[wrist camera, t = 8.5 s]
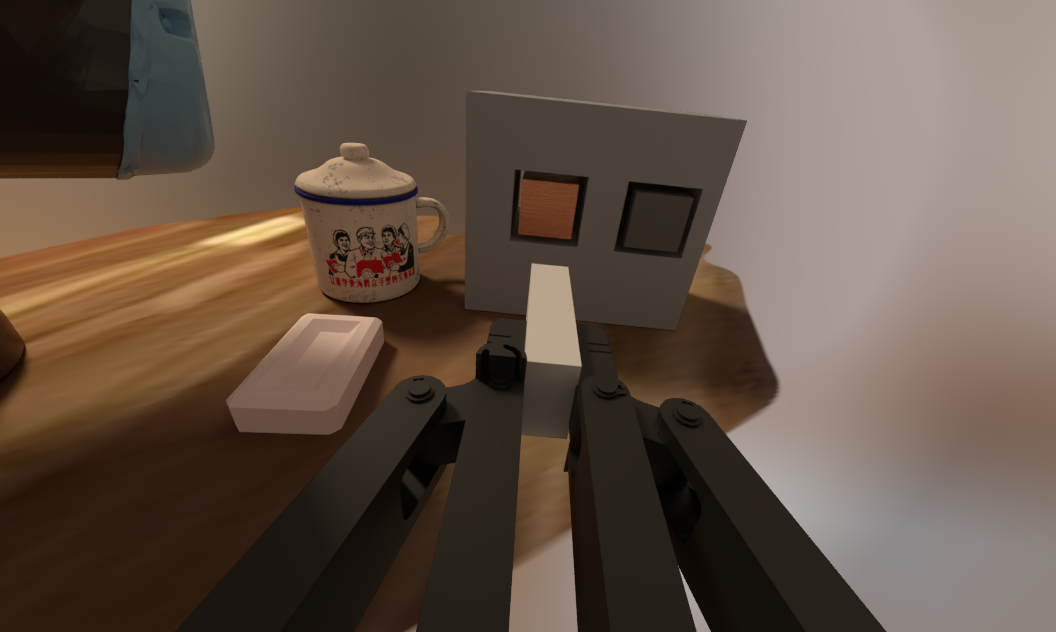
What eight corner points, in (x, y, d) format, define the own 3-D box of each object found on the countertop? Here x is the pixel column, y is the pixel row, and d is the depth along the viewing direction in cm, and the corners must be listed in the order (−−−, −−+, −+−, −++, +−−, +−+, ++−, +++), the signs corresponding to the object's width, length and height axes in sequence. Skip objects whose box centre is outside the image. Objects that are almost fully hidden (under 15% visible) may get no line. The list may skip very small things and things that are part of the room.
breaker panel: (463, 311, 32) (465, 90, 24) (482, 263, 41) (488, 90, 33) (676, 333, 32) (749, 121, 24) (648, 280, 41) (695, 112, 33)
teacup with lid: (322, 315, 30) (289, 154, 24) (310, 269, 36) (281, 134, 30) (466, 289, 36) (468, 155, 30) (433, 254, 42) (429, 138, 36)
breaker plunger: (518, 233, 29) (522, 179, 27) (525, 201, 38) (528, 157, 36) (570, 239, 29) (579, 185, 27) (565, 205, 38) (571, 162, 36)
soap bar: (232, 436, 20) (217, 401, 19) (310, 338, 28) (303, 309, 26) (339, 439, 20) (332, 406, 19) (386, 342, 28) (383, 313, 27)
